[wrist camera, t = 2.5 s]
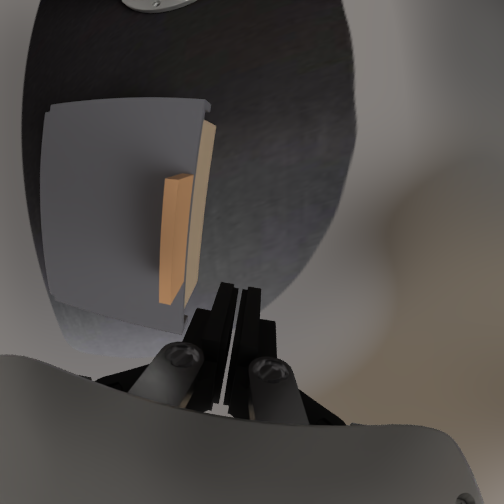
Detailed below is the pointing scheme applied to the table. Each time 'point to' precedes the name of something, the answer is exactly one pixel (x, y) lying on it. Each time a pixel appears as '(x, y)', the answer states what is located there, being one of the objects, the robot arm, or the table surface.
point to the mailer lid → (120, 205)
